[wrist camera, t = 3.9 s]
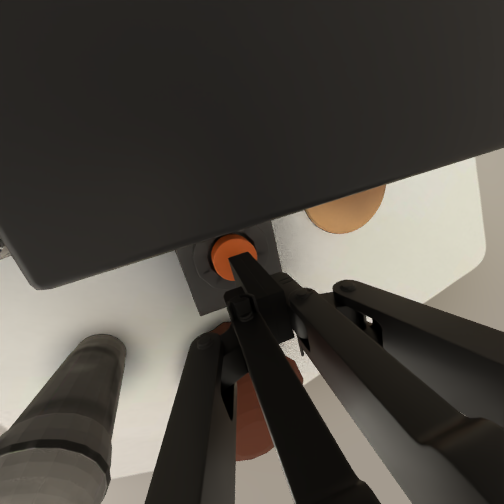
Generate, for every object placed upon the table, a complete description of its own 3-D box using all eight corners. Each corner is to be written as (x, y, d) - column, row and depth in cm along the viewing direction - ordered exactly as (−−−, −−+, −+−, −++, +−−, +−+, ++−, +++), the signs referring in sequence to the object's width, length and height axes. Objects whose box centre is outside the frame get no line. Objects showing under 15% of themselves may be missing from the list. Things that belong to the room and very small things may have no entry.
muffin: (271, 298, 28) (316, 358, 18) (284, 372, 31) (327, 453, 22) (165, 330, 25) (156, 417, 16) (192, 407, 29) (197, 513, 20)
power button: (205, 241, 20) (207, 246, 19) (246, 228, 21) (251, 232, 19) (218, 279, 21) (220, 287, 20) (256, 265, 22) (261, 272, 20)
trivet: (293, 149, 24) (296, 148, 23) (379, 126, 25) (384, 125, 25) (309, 244, 27) (312, 245, 26) (384, 218, 29) (388, 219, 28)
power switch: (160, 202, 22) (156, 207, 18) (253, 176, 23) (267, 176, 20) (198, 304, 26) (201, 326, 22) (277, 276, 27) (291, 292, 23)
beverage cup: (106, 395, 26) (-92, 956, 7) (39, 361, 23) (-574, 1137, 4) (156, 347, 26) (88, 784, 7) (95, 307, 23) (-277, 854, 4)
